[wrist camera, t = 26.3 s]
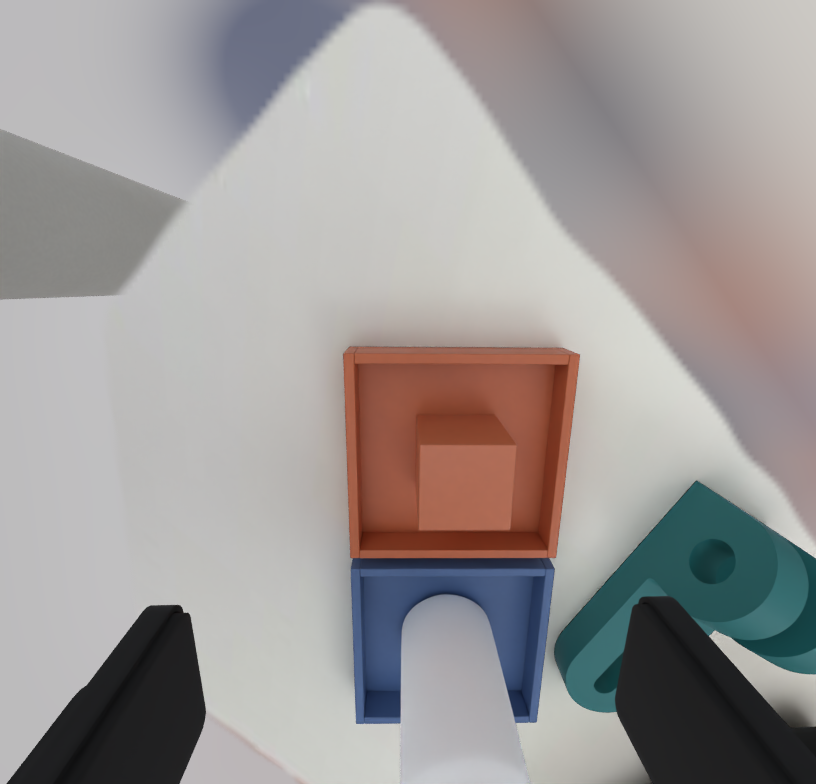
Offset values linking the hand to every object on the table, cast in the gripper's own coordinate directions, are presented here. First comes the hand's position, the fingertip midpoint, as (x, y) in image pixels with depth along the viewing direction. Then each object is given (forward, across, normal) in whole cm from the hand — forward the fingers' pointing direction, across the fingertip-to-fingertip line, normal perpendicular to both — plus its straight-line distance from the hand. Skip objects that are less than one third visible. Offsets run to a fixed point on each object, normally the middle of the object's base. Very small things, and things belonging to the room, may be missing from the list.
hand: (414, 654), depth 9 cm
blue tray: (+18, -4, +17) cm, 25 cm away
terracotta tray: (+18, -3, +3) cm, 18 cm away
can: (+17, -3, +17) cm, 24 cm away
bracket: (+17, -18, +15) cm, 29 cm away
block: (+17, -4, +3) cm, 18 cm away
